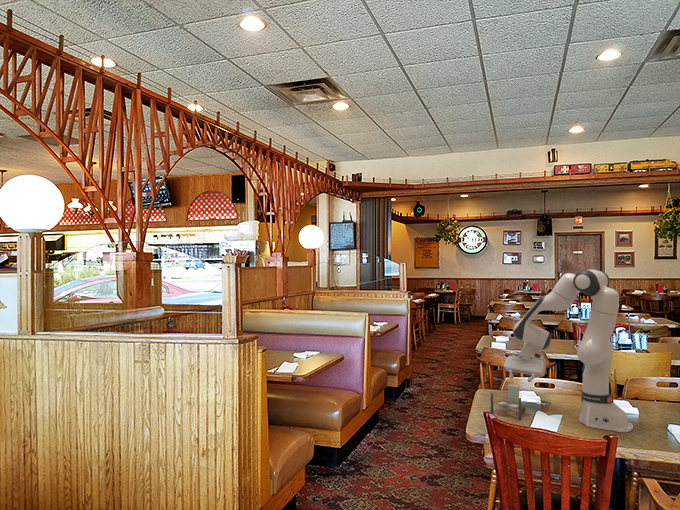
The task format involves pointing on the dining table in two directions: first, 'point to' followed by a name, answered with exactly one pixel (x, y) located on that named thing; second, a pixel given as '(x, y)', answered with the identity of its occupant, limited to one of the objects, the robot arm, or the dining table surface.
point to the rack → (521, 416)
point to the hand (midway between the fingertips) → (520, 379)
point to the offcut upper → (508, 407)
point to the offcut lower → (508, 413)
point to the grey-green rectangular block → (513, 394)
